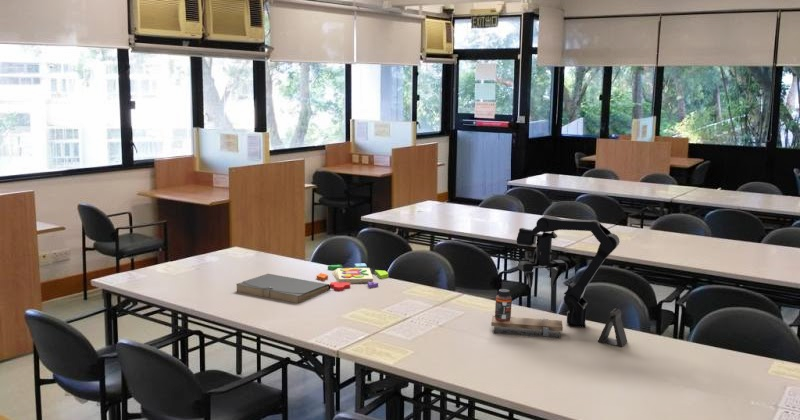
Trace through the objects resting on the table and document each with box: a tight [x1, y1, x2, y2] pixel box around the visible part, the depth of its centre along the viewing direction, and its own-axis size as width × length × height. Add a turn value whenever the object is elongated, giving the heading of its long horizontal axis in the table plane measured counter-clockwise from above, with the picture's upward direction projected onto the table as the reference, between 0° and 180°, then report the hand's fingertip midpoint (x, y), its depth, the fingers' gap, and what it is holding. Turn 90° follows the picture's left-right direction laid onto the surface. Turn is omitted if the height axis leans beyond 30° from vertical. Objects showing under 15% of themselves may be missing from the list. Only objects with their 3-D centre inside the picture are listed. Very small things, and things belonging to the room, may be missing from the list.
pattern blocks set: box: [316, 262, 389, 292], centre depth 344 cm, size 38×34×3 cm
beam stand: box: [493, 318, 560, 340], centre depth 275 cm, size 24×11×4 cm, turn 80°
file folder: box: [235, 273, 331, 304], centre depth 320 cm, size 33×4×24 cm
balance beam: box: [490, 315, 564, 332], centre depth 274 cm, size 26×8×2 cm, turn 80°
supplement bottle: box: [494, 288, 513, 321], centre depth 275 cm, size 6×6×11 cm
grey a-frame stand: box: [597, 308, 628, 348], centre depth 264 cm, size 9×6×12 cm, turn 55°
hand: (541, 286), depth 287 cm, fingers open, 9 cm apart
